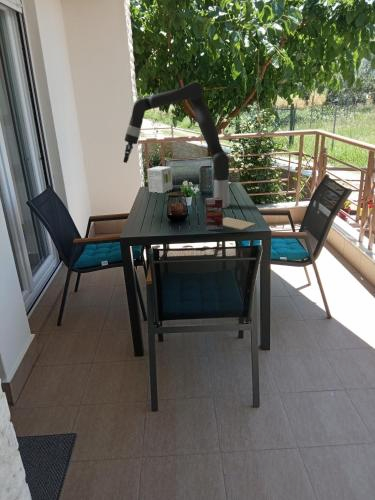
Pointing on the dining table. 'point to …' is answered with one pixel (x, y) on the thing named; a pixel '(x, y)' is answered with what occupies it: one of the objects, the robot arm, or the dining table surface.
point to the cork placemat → (236, 223)
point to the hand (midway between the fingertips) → (125, 161)
